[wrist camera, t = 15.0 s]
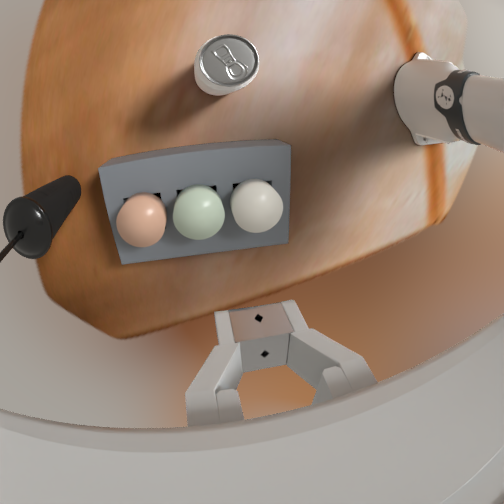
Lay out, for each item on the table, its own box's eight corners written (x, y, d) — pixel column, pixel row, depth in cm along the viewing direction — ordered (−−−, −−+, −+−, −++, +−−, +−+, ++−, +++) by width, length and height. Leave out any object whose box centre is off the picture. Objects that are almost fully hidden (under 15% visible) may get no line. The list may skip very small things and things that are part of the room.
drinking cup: (48, 209, 34) (-19, 282, 17) (50, 163, 30) (-31, 218, 14) (87, 217, 36) (31, 299, 19) (92, 170, 33) (21, 230, 16)
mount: (277, 139, 37) (290, 145, 32) (276, 225, 44) (288, 243, 39) (111, 158, 33) (98, 168, 28) (129, 244, 40) (122, 264, 35)
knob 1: (167, 177, 36) (160, 196, 28) (173, 216, 39) (169, 243, 32) (127, 183, 35) (111, 204, 27) (134, 221, 38) (122, 250, 31)
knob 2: (265, 167, 38) (283, 183, 31) (265, 205, 41) (282, 229, 34) (223, 170, 37) (231, 188, 30) (226, 209, 40) (234, 235, 33)
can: (213, 104, 32) (221, 103, 22) (184, 71, 29) (180, 55, 19) (251, 78, 31) (276, 67, 21) (223, 44, 28) (237, 19, 18)
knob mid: (216, 171, 37) (222, 189, 30) (219, 210, 40) (226, 236, 33) (174, 176, 36) (169, 195, 29) (179, 215, 39) (177, 242, 32)
